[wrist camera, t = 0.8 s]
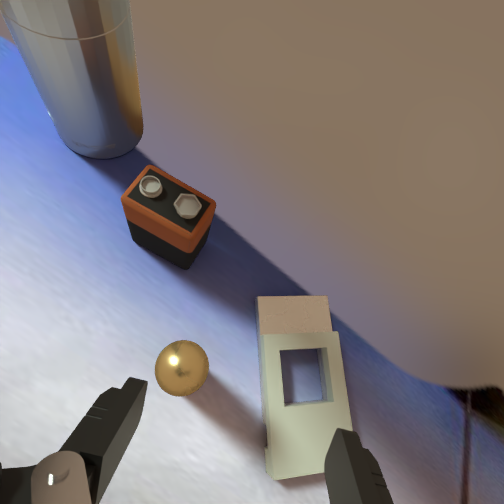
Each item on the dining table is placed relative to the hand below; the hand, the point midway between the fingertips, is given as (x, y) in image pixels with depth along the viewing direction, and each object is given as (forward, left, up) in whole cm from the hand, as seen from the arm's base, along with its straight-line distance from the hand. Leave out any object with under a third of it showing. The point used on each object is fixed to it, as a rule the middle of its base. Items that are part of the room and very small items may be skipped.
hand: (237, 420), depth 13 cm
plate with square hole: (+1, +10, -19) cm, 21 cm away
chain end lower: (-3, +10, -19) cm, 21 cm away
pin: (-2, -2, -19) cm, 19 cm away
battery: (-15, -3, -19) cm, 24 cm away
